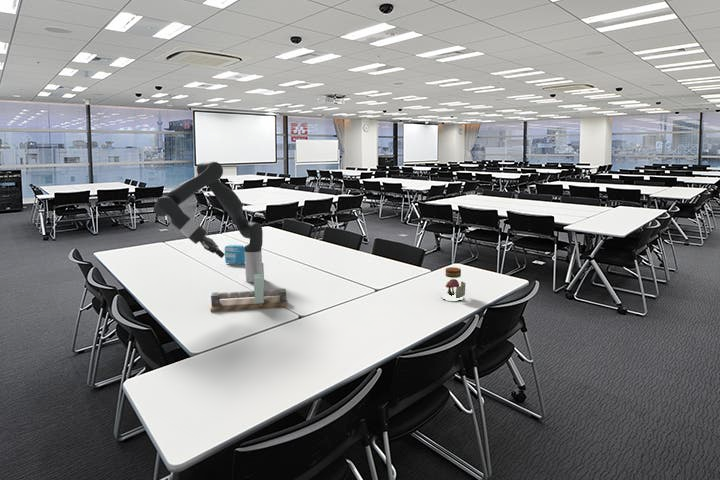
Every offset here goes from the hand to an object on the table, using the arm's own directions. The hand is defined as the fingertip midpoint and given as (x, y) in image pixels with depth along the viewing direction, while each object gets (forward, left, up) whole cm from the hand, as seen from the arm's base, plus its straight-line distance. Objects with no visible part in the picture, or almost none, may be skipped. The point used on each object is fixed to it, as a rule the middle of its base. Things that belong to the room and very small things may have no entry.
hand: (223, 256), depth 206 cm
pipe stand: (-6, +10, -24) cm, 26 cm away
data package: (-56, -60, -24) cm, 86 cm away
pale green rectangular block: (-9, +13, -22) cm, 27 cm away
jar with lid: (-69, +85, -24) cm, 112 cm away
